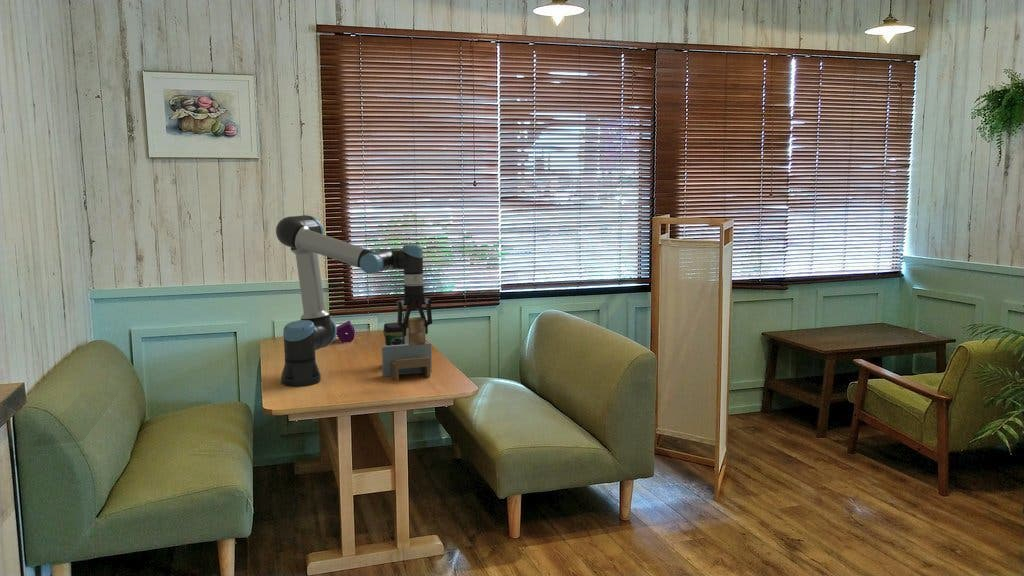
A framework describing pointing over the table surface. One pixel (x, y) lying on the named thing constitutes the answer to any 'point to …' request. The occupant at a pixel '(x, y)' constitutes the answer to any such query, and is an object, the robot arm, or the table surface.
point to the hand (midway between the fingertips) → (415, 343)
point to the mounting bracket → (344, 329)
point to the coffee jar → (393, 334)
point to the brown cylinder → (416, 331)
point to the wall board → (406, 360)
